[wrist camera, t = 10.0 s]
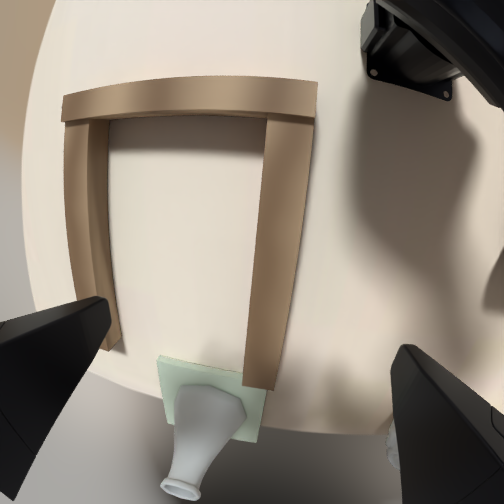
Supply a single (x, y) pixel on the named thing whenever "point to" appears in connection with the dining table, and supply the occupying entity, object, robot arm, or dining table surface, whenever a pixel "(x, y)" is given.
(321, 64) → the dining table surface
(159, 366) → the pad
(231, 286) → the dining table surface
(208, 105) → the frame
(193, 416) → the flask
